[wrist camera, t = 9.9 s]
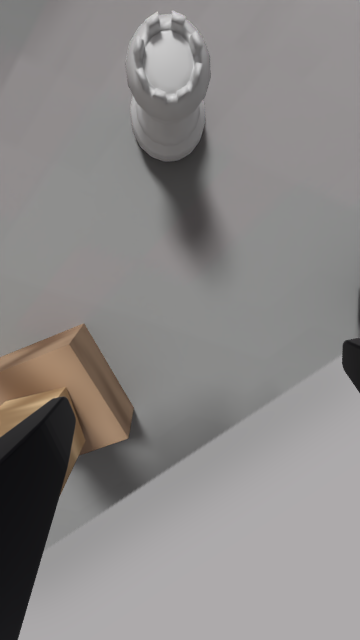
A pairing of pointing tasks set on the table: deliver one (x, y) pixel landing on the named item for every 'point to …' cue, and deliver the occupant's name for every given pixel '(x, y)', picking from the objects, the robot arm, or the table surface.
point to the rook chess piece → (168, 85)
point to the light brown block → (71, 383)
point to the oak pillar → (21, 408)
